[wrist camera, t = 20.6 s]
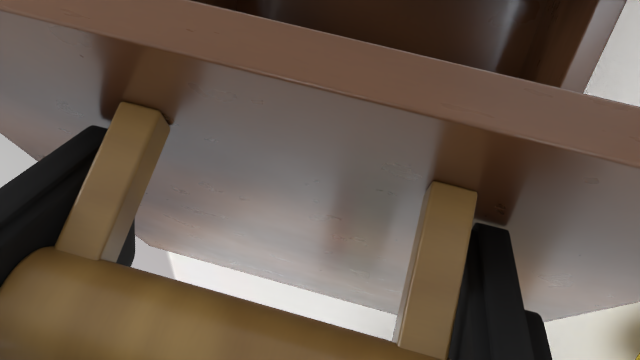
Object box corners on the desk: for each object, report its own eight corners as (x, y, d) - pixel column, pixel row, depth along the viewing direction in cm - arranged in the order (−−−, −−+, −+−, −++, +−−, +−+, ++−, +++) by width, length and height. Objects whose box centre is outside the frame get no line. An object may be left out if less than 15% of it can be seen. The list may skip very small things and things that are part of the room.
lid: (-211, -98, 7) (-498, 253, 5) (928, 173, 6) (1000, 728, 4) (155, 228, 24) (111, 341, 22) (478, 318, 22) (457, 444, 21)
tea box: (241, -195, 21) (163, -223, 15) (613, -120, 20) (683, -118, 14) (213, 162, 30) (156, 231, 24) (470, 229, 28) (476, 320, 23)
